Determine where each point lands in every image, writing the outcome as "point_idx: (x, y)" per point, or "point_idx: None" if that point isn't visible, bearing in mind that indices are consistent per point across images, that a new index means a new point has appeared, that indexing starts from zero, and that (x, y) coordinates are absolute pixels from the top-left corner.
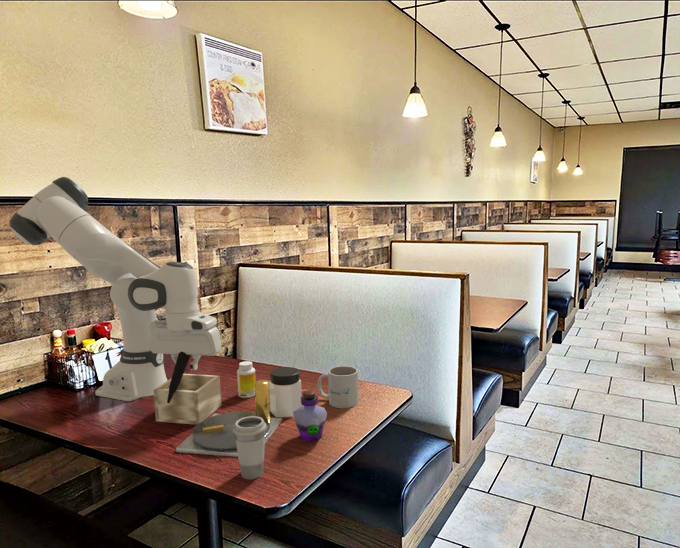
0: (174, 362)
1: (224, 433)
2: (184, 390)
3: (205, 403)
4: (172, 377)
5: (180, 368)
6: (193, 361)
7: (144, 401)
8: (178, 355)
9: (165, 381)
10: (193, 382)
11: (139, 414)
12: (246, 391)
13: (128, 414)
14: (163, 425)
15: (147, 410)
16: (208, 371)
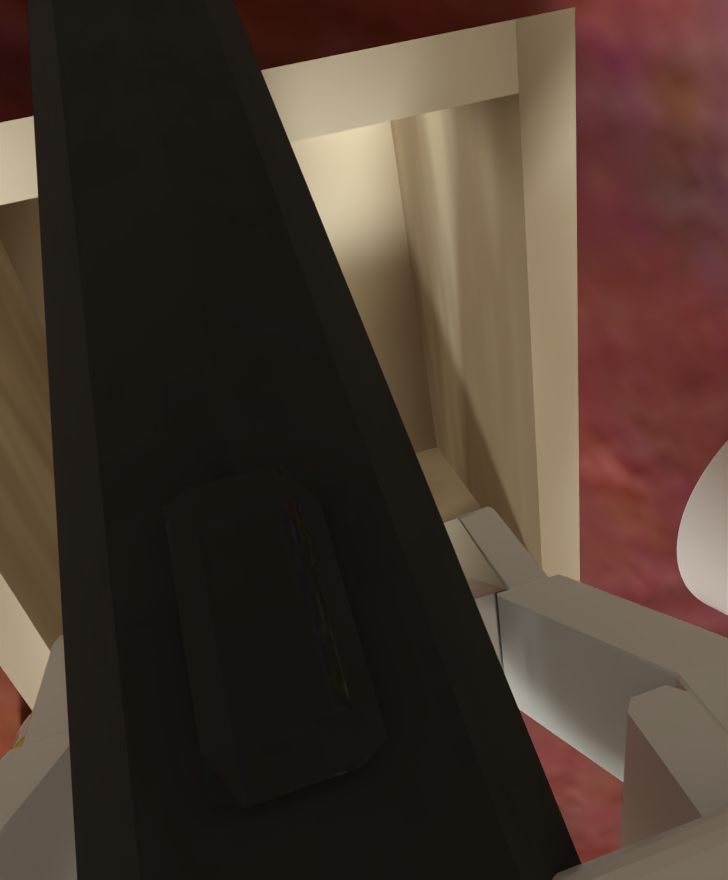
0: (583, 583)
1: None
2: (21, 183)
3: None
4: (193, 60)
5: (77, 353)
6: (2, 820)
7: (720, 350)
8: (468, 819)
9: (724, 588)
10: None
11: (633, 138)
12: None
13: (720, 101)
14: (270, 8)
15: (614, 232)
16: (579, 796)
